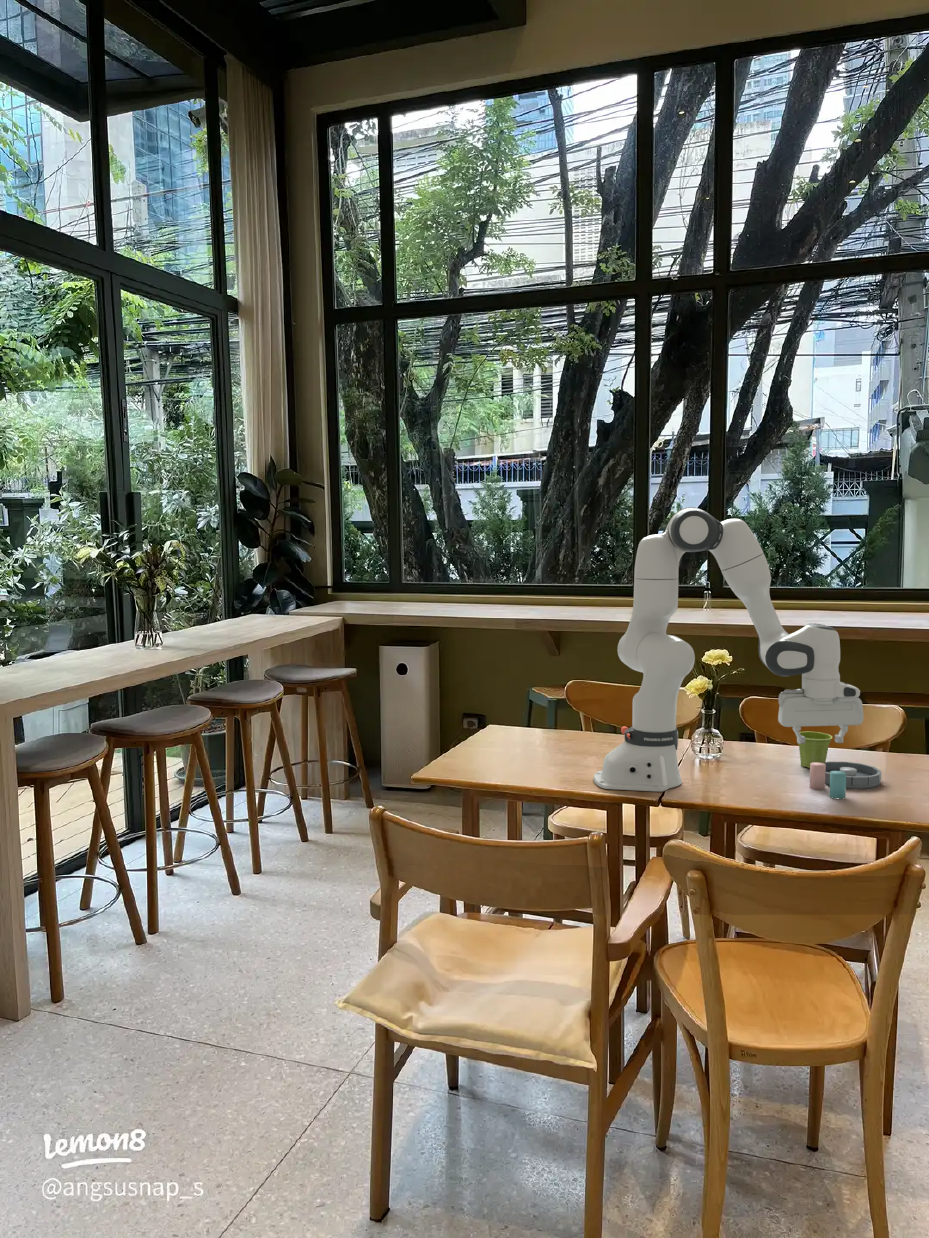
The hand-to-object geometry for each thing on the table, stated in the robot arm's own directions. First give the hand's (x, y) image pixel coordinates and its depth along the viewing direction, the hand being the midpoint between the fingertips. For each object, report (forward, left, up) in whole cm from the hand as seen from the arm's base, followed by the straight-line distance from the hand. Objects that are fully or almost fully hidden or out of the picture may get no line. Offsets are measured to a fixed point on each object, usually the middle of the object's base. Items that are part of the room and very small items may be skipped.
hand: (820, 742), depth 228 cm
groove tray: (+10, +6, -12) cm, 16 cm away
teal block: (+2, -8, -12) cm, 14 cm away
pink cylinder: (0, 0, -12) cm, 12 cm away
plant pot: (+6, +20, -12) cm, 24 cm away
